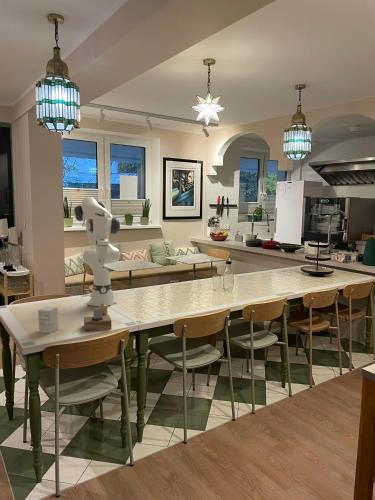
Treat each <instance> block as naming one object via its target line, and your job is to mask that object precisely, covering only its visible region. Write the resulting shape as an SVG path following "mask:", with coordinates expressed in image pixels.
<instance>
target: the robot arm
mask: <svg viewBox="0 0 375 500" xmlns="http://www.w3.org/2000/svg"><path fill="white" fill-rule="evenodd" d="M73 216H74V218H75V219H76V221H78V222H83V221H85V230H86V235H87V238H88V241H89V244H90V245H91V246H92V247H94V248H88V249H85V250H84V252H83V254H82V261H83V262H84V264H86V265H87V266H88V267H90V269H91V270H92V274H93V286H92V287H93V288H92V289H93V290H92V291H91V293H89V298H90V299H89V301H88V303H87V304H88V306H94V307H101V306H100V305H101V304H107V307H108V306H109V305H110V306H112V305H114V304H116V303H117V301H116V300H115V298H114V295H115V294H114V291H113V290H112V283H111V272H110V271H109V270H108V269H107V268H104V267H103V266H105V265H106V264H114V263H117V262H119V260H121V259H120V258H121V252H120V249H118V248H117V247H116V246H113V245H112V244H111V243H110V237H109V236H110V234H111V235H116V234H117V233H118V232H119V231H120V230H121V223H120V220H119V219H118V218H117V217H115V216H114V215H113V214H112V213H111V212H110V211H109V210H108V209H107V207H106V204H105V203H104V202H103V201H97V200H96V199H95V198H94V197H92V196H85V197H84V198H83V199H82V201H81V204H78V205H77V206H75V207H74V208H73Z"/></svg>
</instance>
